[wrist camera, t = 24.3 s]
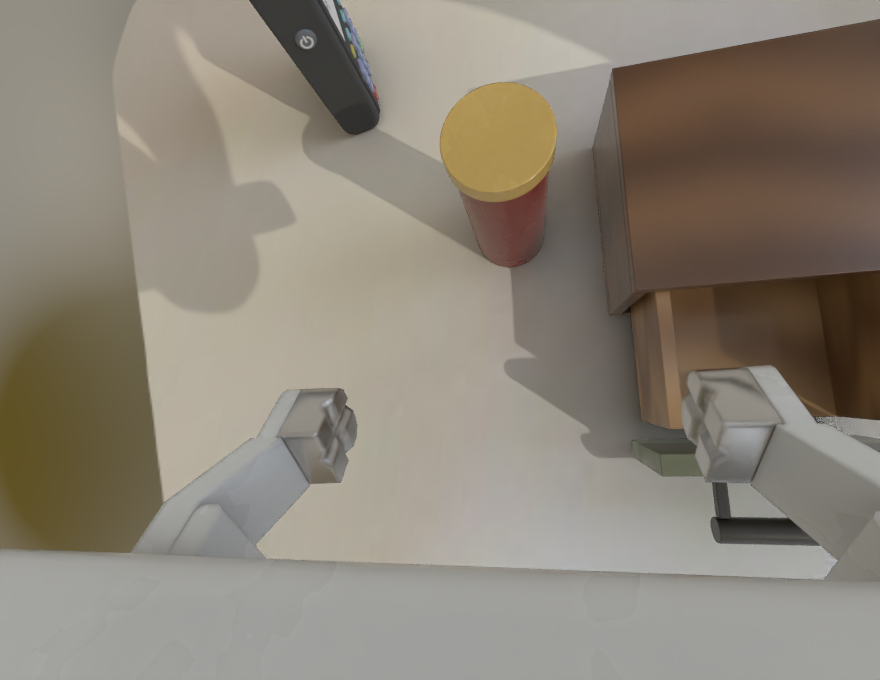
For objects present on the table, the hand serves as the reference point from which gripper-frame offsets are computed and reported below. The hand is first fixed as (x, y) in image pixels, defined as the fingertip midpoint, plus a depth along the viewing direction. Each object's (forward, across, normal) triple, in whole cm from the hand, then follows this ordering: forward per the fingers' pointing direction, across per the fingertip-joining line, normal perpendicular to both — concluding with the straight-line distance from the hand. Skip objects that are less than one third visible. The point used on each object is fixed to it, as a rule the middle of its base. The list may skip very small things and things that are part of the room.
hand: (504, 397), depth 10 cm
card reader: (+36, +13, -3) cm, 38 cm away
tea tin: (+25, 0, +7) cm, 26 cm away
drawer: (+15, -14, +16) cm, 26 cm away
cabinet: (+25, -14, +8) cm, 30 cm away
